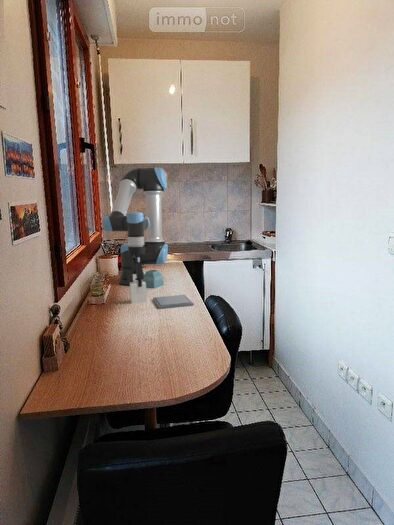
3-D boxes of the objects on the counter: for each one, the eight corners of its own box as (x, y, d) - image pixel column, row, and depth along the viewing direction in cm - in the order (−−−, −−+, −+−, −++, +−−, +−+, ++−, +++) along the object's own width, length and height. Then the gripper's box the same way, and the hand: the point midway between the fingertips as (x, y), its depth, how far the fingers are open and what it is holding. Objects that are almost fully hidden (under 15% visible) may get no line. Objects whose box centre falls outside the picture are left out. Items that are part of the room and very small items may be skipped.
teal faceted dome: (163, 269, 210) (164, 285, 211) (151, 268, 214) (151, 283, 216) (154, 272, 202) (154, 288, 204) (141, 271, 207) (141, 287, 209)
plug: (130, 300, 181) (129, 278, 180) (145, 299, 183) (144, 277, 181) (131, 303, 177) (130, 281, 175) (146, 302, 179) (145, 280, 177)
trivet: (152, 299, 183) (152, 296, 183) (184, 296, 187) (184, 294, 187) (159, 308, 168) (158, 306, 168) (193, 305, 172) (193, 302, 172)
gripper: (125, 243, 186) (127, 285, 189) (131, 249, 162) (133, 297, 166) (140, 242, 188) (142, 284, 192) (148, 248, 164) (150, 295, 168)
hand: (137, 290), depth 179 cm, fingers open, 13 cm apart
